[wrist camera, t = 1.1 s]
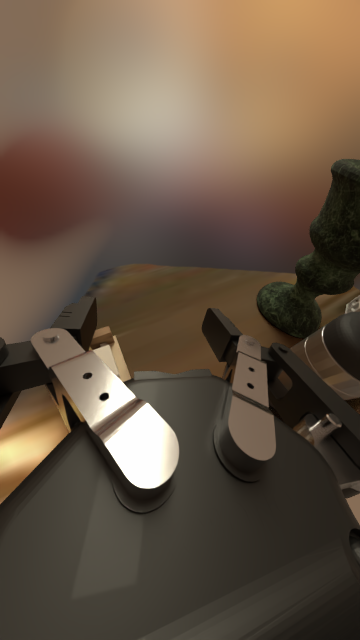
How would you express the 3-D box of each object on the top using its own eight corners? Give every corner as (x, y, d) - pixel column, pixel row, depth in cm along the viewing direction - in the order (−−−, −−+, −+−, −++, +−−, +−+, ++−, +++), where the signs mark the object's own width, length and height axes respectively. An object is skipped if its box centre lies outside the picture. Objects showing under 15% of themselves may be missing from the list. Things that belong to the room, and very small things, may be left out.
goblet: (256, 336, 41) (403, 194, 17) (244, 277, 54) (318, 149, 30) (338, 350, 42) (589, 233, 18) (307, 289, 56) (428, 174, 31)
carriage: (111, 349, 31) (89, 305, 21) (120, 378, 29) (102, 344, 18) (69, 364, 29) (22, 323, 18) (76, 398, 26) (24, 372, 16)
